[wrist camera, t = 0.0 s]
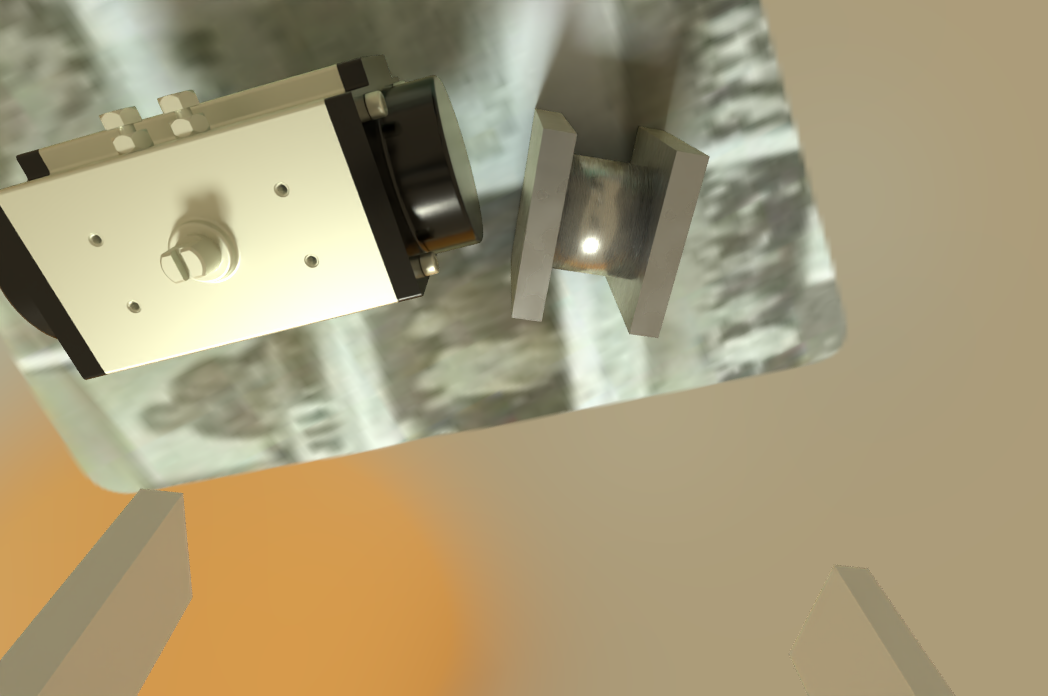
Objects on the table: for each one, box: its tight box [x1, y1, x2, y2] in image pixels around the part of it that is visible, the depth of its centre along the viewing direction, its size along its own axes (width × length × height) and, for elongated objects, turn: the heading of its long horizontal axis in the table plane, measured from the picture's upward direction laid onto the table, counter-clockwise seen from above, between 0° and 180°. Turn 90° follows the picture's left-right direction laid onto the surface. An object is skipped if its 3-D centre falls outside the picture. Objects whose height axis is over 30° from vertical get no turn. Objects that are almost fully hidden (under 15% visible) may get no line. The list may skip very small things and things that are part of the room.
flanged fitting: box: [511, 108, 710, 338], centre depth 33 cm, size 9×8×9 cm
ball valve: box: [0, 55, 483, 380], centre depth 28 cm, size 18×8×18 cm, turn 104°
